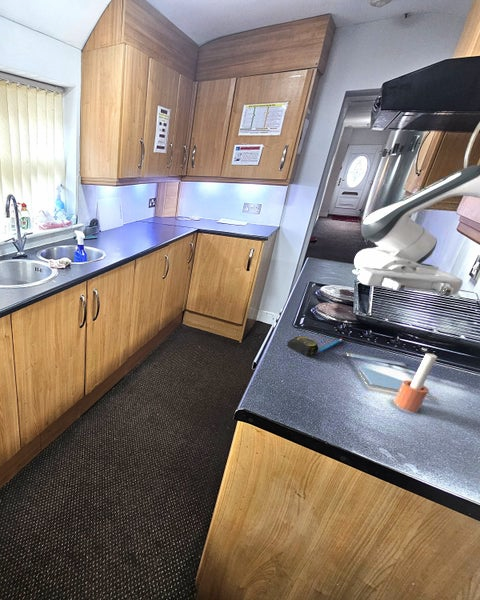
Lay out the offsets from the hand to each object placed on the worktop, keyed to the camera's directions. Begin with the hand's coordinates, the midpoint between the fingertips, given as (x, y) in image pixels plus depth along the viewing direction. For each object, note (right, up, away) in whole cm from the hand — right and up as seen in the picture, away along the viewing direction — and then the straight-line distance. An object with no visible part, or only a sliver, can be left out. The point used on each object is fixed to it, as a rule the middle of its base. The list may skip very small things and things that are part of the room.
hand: (424, 289), depth 79 cm
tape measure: (-15, -19, +21) cm, 32 cm away
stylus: (-5, -28, -1) cm, 28 cm away
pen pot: (-5, -28, -1) cm, 29 cm away
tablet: (+1, -23, +11) cm, 26 cm away
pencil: (-5, -18, +24) cm, 31 cm away
